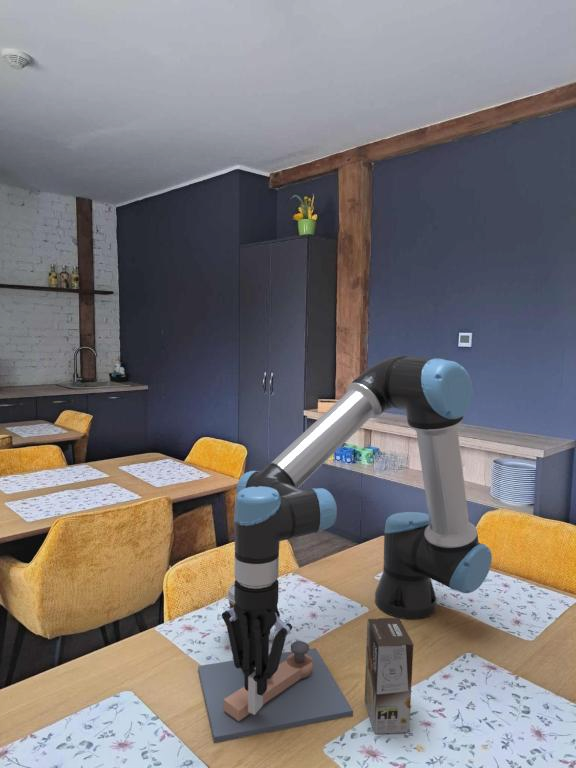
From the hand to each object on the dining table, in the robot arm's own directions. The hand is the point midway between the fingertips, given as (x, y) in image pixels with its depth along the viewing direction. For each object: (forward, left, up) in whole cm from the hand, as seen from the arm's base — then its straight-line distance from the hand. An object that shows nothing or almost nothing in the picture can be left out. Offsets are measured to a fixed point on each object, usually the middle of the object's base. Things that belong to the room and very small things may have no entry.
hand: (255, 708), depth 97 cm
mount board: (-5, -7, -3) cm, 9 cm away
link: (-5, -6, -1) cm, 8 cm away
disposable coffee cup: (-4, -25, -3) cm, 26 cm away
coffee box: (-23, +4, -3) cm, 24 cm away
